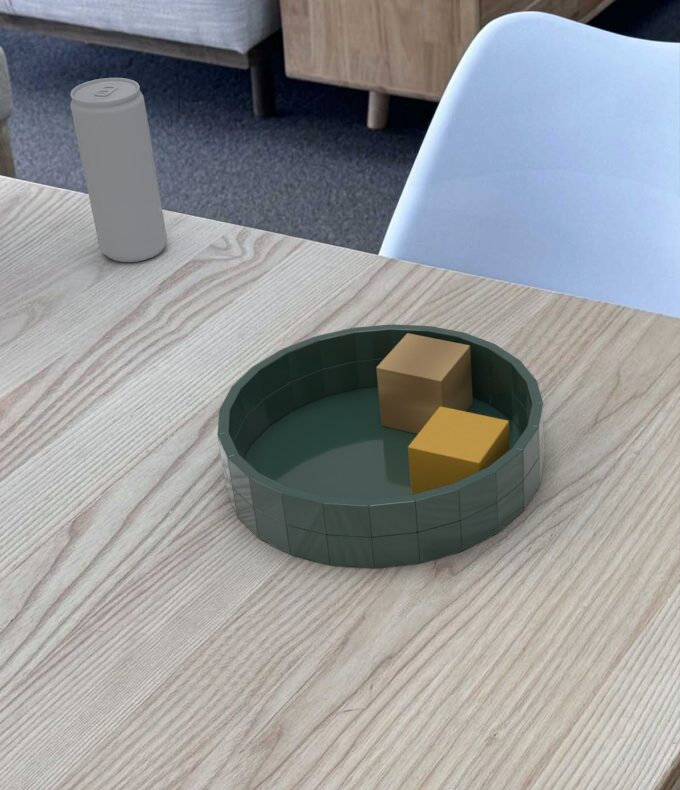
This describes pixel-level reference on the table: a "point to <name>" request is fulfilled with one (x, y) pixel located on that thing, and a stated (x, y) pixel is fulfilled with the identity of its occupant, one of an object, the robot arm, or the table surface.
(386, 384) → the maple block
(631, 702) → the table surface
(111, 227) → the beverage can
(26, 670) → the table surface
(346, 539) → the bowl
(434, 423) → the mustard block
